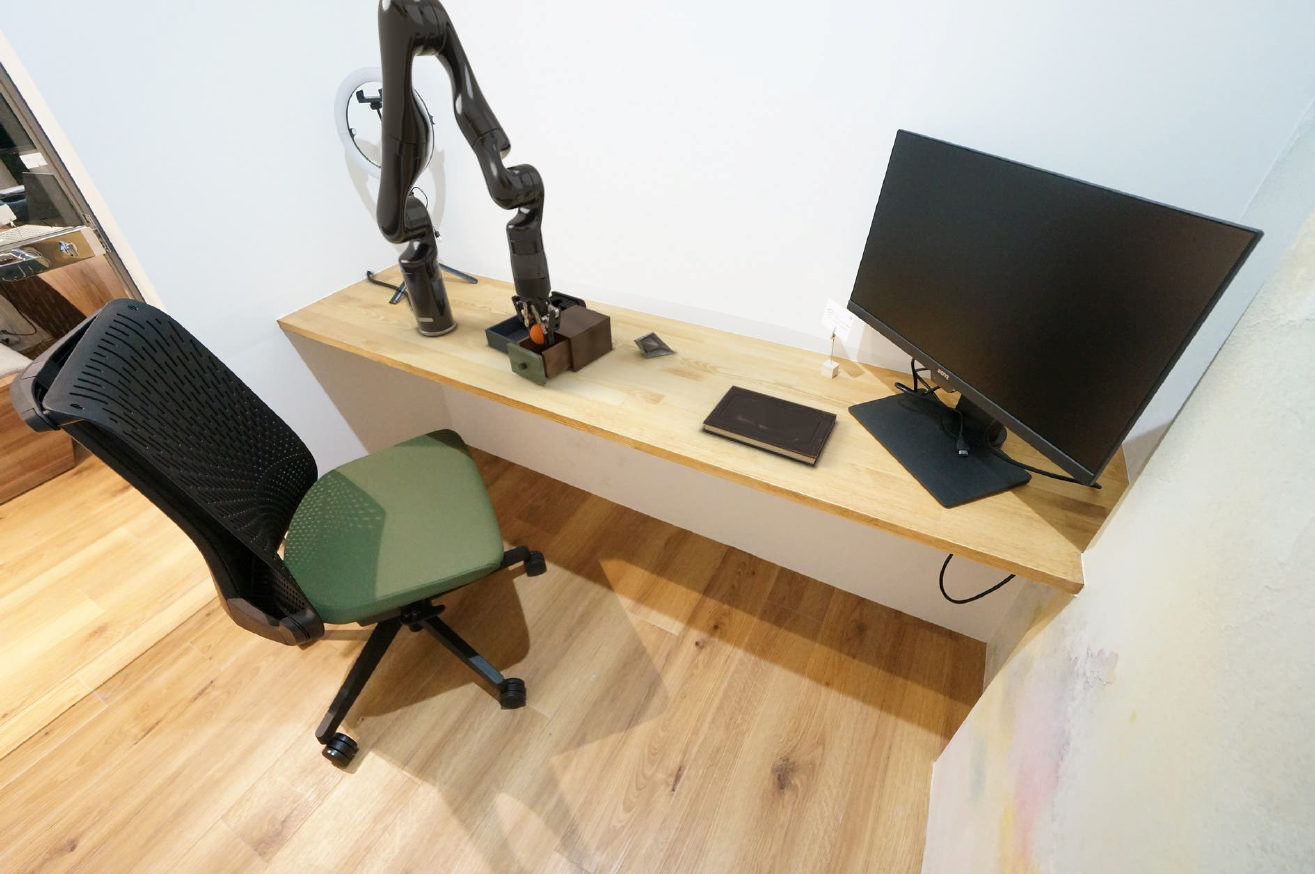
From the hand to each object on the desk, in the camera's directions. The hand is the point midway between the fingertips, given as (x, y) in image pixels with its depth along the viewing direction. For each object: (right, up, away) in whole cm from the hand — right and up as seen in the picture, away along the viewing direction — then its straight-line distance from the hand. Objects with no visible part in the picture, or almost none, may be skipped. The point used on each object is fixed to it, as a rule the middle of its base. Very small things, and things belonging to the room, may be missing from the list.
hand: (542, 342), depth 122 cm
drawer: (0, -5, +4) cm, 7 cm away
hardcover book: (+50, -20, -13) cm, 55 cm away
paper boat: (+25, -2, +10) cm, 27 cm away
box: (-8, +2, +15) cm, 17 cm away
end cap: (+1, +11, +26) cm, 29 cm away
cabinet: (+6, -1, +11) cm, 13 cm away
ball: (0, +2, -1) cm, 2 cm away
